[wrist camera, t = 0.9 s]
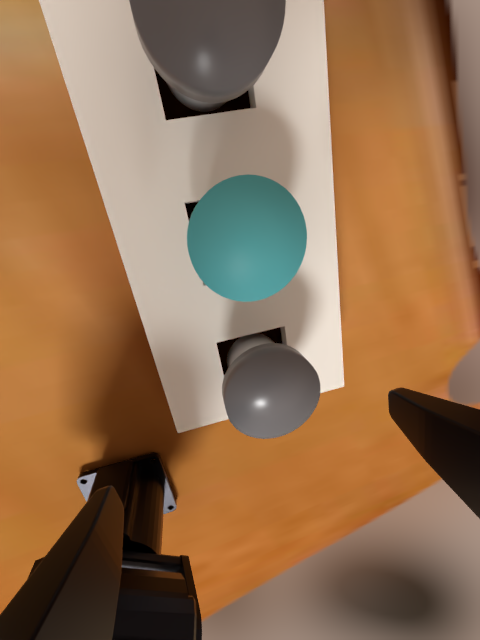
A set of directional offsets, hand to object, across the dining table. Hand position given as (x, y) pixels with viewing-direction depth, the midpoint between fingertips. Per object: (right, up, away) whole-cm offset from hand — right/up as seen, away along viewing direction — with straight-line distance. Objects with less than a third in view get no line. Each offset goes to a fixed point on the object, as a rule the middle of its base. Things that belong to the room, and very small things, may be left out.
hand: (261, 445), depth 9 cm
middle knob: (-1, +8, +7) cm, 11 cm away
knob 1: (-2, +16, +4) cm, 16 cm away
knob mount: (-2, +10, +10) cm, 14 cm away
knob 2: (0, +1, +9) cm, 9 cm away
